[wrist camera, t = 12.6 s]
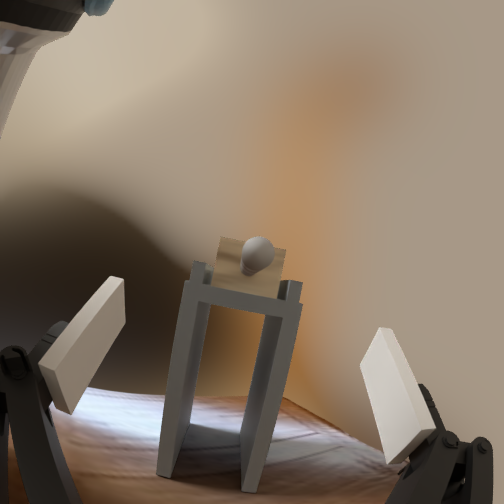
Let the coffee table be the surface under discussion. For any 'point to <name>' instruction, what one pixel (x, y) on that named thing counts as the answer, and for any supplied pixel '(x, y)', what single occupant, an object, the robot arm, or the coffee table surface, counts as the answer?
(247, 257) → the maple block
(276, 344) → the shelf
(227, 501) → the coffee table surface
